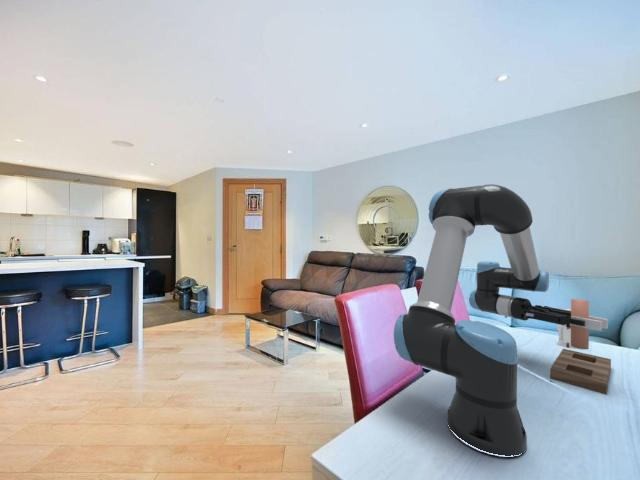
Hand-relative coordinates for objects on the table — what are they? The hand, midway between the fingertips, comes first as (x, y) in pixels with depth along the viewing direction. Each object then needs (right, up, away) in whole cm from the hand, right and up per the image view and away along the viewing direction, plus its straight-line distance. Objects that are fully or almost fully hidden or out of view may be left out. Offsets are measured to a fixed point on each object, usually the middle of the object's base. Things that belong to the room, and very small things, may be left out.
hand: (604, 325), depth 80 cm
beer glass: (+18, -19, +33) cm, 42 cm away
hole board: (+2, -19, +9) cm, 21 cm away
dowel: (-3, -8, +5) cm, 10 cm away
